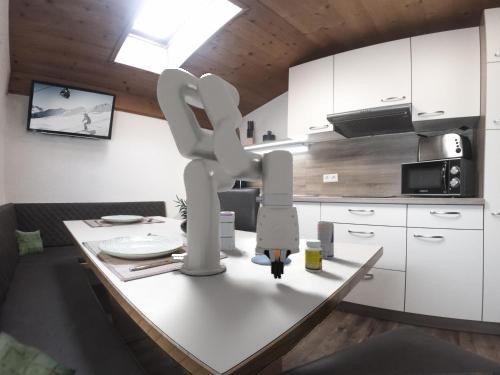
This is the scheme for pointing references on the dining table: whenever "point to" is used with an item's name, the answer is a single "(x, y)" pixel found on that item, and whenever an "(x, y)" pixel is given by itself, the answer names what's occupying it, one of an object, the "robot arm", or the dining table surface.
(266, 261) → the disc
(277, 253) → the ball
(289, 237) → the robot arm
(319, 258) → the supplement bottle
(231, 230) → the syrup box
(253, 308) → the dining table surface
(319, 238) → the energy drink
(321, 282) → the dining table surface
